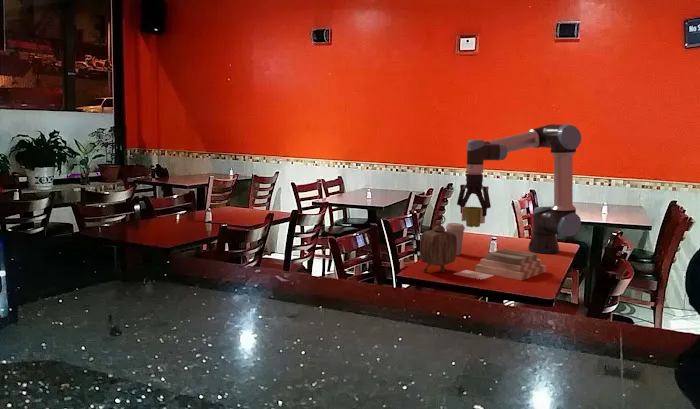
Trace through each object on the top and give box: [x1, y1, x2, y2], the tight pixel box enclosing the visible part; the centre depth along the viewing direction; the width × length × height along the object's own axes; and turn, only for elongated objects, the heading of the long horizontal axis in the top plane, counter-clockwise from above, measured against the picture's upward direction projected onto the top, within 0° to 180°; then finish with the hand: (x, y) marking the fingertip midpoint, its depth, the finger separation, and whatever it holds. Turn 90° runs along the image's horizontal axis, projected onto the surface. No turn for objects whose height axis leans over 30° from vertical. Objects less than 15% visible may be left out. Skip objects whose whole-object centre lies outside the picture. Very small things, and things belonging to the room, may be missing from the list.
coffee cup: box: [445, 222, 466, 256], centre depth 310 cm, size 10×10×15 cm
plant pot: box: [463, 206, 482, 228], centre depth 289 cm, size 9×9×9 cm
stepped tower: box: [474, 248, 547, 281], centre depth 274 cm, size 22×22×8 cm
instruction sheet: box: [453, 269, 495, 281], centre depth 268 cm, size 10×14×1 cm
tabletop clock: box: [419, 214, 457, 273], centre depth 271 cm, size 14×9×25 cm, turn 127°
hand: (473, 221), depth 289 cm, fingers closed on plant pot, 9 cm apart
